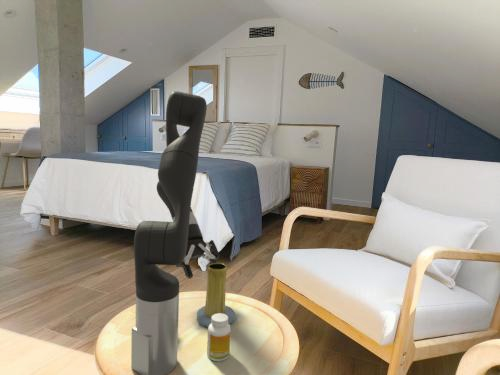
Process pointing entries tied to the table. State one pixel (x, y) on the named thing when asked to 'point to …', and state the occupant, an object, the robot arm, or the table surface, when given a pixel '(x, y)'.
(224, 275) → the vase
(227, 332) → the supplement bottle
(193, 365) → the table surface
